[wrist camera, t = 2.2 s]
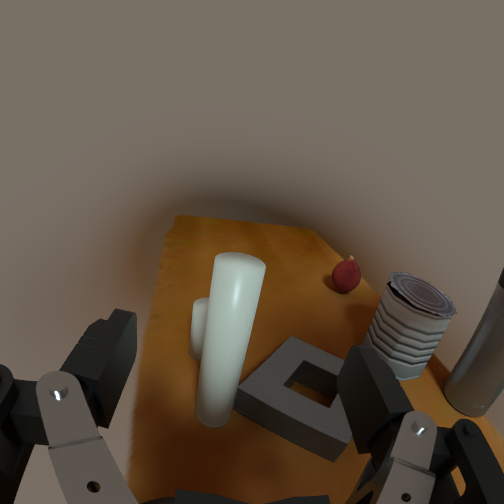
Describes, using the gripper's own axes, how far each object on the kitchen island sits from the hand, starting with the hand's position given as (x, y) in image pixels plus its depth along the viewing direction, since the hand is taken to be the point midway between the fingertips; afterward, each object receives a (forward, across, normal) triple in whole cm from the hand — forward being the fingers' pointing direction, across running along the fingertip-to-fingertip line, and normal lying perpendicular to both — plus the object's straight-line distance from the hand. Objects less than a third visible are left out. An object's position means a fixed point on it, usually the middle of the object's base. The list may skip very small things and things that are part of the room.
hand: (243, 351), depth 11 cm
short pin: (+21, +2, +18) cm, 28 cm away
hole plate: (+14, -10, +18) cm, 25 cm away
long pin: (+12, 0, +18) cm, 22 cm away
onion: (+44, -24, +18) cm, 53 cm away
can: (+24, -27, +18) cm, 40 cm away
